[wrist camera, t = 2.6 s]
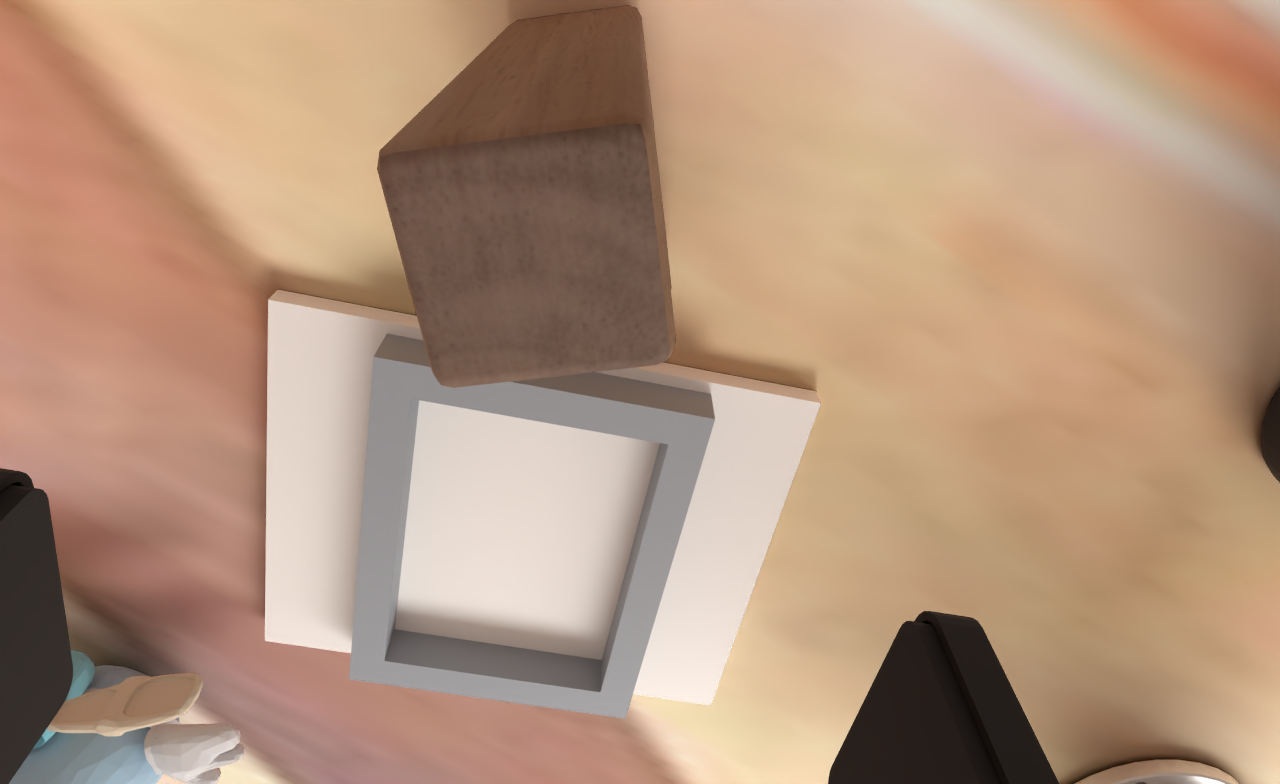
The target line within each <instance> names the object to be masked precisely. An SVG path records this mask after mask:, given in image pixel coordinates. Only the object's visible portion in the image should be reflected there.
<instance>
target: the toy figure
mask: <svg viewBox="0 0 1280 784" xmlns="http://www.w3.org/2000/svg"><path fill="white" fill-rule="evenodd" d="M71 656H72V663H73V679H72V684H71V687H70V691H69V693H68V696H67V698H66V700H65V702H64V704H63V705H62V707H61V708H60V710H59V711H58V713H57V714H56V716H55V717H54V719H53V720H52V722H51V723H50V724H49V726H48V727H47V729H46V730H45V732H44V733H43V735H42V736H41V738H40V739H39V740H38V742H37V743H36V745H35V746H34V748H33V749H32V751H31V752H30V753H29V755H28V756H27V758H26V759H25V761H24V762H23V764H22V765H21V767H20V768H19V769H18V771H17V772H16V774H15V775H14V777H13V778H12V780H11V781H10V783H9V784H156V783H157V782H158V780H159V779H160V777H161V775H162V774H166V775H168V776H170V777H172V778H174V779H176V780H179V781H182V782H185V783H188V784H216V783H217V782H218V780H219V777H220V774H221V771H220V769H219V768H218V767H222V766H225V765H229V764H232V763H234V762H236V761H238V760H240V759H241V758H242V757H243V755H244V750H245V748H244V747H243V745H242V744H238V743H239V742H240V737H241V735H240V732H239V730H238V729H236V728H235V727H234V726H233V725H230V724H225V723H218V724H180V723H179V717H180V716H182V715H184V714H185V713H186V712H187V711H188V710H189V709H190V708H191V707H192V706H193V704H194V703H195V701H196V700H197V699H198V697H199V694H200V692H201V689H202V686H203V678H202V677H201V676H200V675H199V674H196V673H179V674H168V675H161V676H154V677H149V676H148V675H146V674H143V673H141V672H138V671H136V670H134V669H130V668H127V667H123V666H113V665H101V666H95V665H94V663H93V662H92V661H91V659H90V658H89V657H88V656H87V655H86V654H84V653H83V652H80V651H78V650H71Z"/></svg>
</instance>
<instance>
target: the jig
mask: <svg viewBox="0 0 1280 784" xmlns="http://www.w3.org/2000/svg"><path fill="white" fill-rule="evenodd" d="M820 405H821V402H820V399H819V397H818V394H817V392H816V391H812V390H807V389H801V388H796V387H791V386H786V385H780V384H775V383H770V382H764V381H759V380H754V379H748V378H743V377H738V376H733V375H727V374H722V373H717V372H711V371H706V370H701V369H696V368H690V367H685V366H680V365H674V364H669V363H664V362H662V363H660V364H657V365H652V366H643V367H635V368H626V369H617V370H608V371H599V372H590V373H581V374H572V375H563V376H555V377H546V378H537V379H528V380H519V381H510V382H501V383H492V384H483V385H474V386H466V387H457V388H452V387H447V386H442V385H440V383H439V382H438V380H437V379H436V377H435V376H434V374H433V372H432V370H431V367H430V363H429V359H428V356H427V352H426V348H425V344H424V341H423V337H422V333H421V330H420V326H419V322H418V318H417V316H415V315H410V314H404V313H399V312H394V311H389V310H383V309H378V308H373V307H367V306H362V305H357V304H351V303H346V302H341V301H336V300H330V299H325V298H320V297H314V296H309V295H304V294H299V293H293V292H288V291H283V290H277V291H276V292H275V293H274V294H273V295H272V296H271V297H270V298H269V299H268V372H267V475H266V578H265V641H270V642H277V643H284V644H291V645H298V646H305V647H312V648H318V649H325V650H332V651H339V652H346V653H351V661H350V674H349V679H350V680H357V681H364V682H371V683H378V684H385V685H392V686H399V687H406V688H413V689H420V690H427V691H434V692H441V693H448V694H456V695H463V696H470V697H477V698H484V699H491V700H498V701H505V702H512V703H519V704H526V705H533V706H540V707H547V708H554V709H561V710H568V711H575V712H582V713H589V714H596V715H603V716H610V717H618V718H626V715H627V712H628V708H629V705H630V702H631V698H632V695H633V694H635V695H642V696H649V697H656V698H663V699H669V700H676V701H683V702H690V703H697V704H704V705H711V704H712V701H713V698H714V695H715V693H716V690H717V687H718V684H719V682H720V679H721V676H722V673H723V671H724V668H725V665H726V662H727V660H728V657H729V654H730V651H731V649H732V646H733V643H734V640H735V638H736V635H737V632H738V629H739V627H740V624H741V621H742V619H743V616H744V613H745V610H746V608H747V605H748V602H749V599H750V597H751V594H752V591H753V588H754V586H755V583H756V580H757V577H758V575H759V572H760V569H761V566H762V564H763V561H764V558H765V555H766V553H767V550H768V547H769V544H770V542H771V539H772V536H773V533H774V531H775V528H776V525H777V522H778V520H779V517H780V514H781V512H782V509H783V506H784V503H785V501H786V498H787V495H788V492H789V490H790V487H791V484H792V481H793V479H794V476H795V473H796V470H797V468H798V465H799V462H800V459H801V457H802V454H803V451H804V448H805V446H806V443H807V440H808V437H809V435H810V432H811V429H812V426H813V424H814V421H815V418H816V415H817V413H818V410H819V407H820Z"/></svg>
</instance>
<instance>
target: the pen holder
mask: <svg viewBox="0 0 1280 784" xmlns="http://www.w3.org/2000/svg"><path fill="white" fill-rule="evenodd" d="M1261 446H1262V452H1263V457H1264V459H1265V462H1266V464H1267V466H1268V468H1269V469H1270V471H1271V473H1272V474H1273V475H1274V477H1275V478H1276V479H1277V480H1278V481H1279V482H1280V388H1279V389H1278V391H1277V392H1276V394H1275V396H1274V397H1273V399H1272V401H1271V403H1270V405H1269V407H1268V409H1267V412H1266V415H1265V419H1264V423H1263V429H1262V436H1261Z"/></svg>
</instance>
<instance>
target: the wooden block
mask: <svg viewBox="0 0 1280 784" xmlns="http://www.w3.org/2000/svg"><path fill="white" fill-rule="evenodd" d="M377 170H378V174H379V177H380V181H381V185H382V189H383V192H384V196H385V200H386V203H387V207H388V211H389V215H390V218H391V222H392V226H393V229H394V233H395V237H396V240H397V244H398V248H399V252H400V255H401V259H402V263H403V266H404V270H405V274H406V278H407V281H408V285H409V289H410V292H411V296H412V300H413V304H414V307H415V311H416V315H417V318H418V322H419V326H420V330H421V333H422V337H423V341H424V344H425V348H426V352H427V356H428V359H429V363H430V367H431V370H432V372H433V374H434V376H435V377H436V379H437V380H438V382H439V383H440V385H442V386H447V387H452V388H457V387H466V386H474V385H483V384H492V383H501V382H510V381H519V380H528V379H537V378H546V377H555V376H563V375H572V374H581V373H590V372H599V371H608V370H617V369H626V368H635V367H643V366H652V365H657V364H660V363H662V362H664V361H667V360H669V358H670V357H671V355H672V352H673V349H674V346H675V343H676V337H675V327H674V318H673V308H672V298H671V278H670V269H669V260H668V250H667V241H666V232H665V223H664V214H663V205H662V196H661V188H660V179H659V170H658V161H657V152H656V143H655V134H654V125H653V116H652V107H651V98H650V89H649V80H648V71H647V62H646V53H645V44H644V35H643V26H642V18H641V15H640V13H639V11H638V9H637V8H635V7H631V6H628V5H627V6H620V7H612V8H605V9H597V10H590V11H582V12H575V13H567V14H560V15H552V16H545V17H537V18H530V19H523V20H517V21H516V22H514V23H512V24H511V25H509V26H508V27H507V28H506V29H505V30H504V31H503V32H502V33H501V34H500V35H499V36H498V37H497V38H496V39H495V40H494V41H493V42H492V43H491V44H490V45H489V46H487V47H486V48H485V49H484V50H483V51H482V52H481V53H480V54H479V55H478V56H477V57H476V58H475V59H474V60H473V61H472V62H471V63H470V64H469V65H468V66H467V67H466V68H465V69H464V70H463V71H462V72H461V73H460V74H459V75H458V76H457V77H456V78H455V79H453V80H452V81H451V82H450V83H449V84H448V85H447V86H446V87H445V88H444V89H443V90H442V91H441V92H440V93H439V94H438V95H437V96H436V97H435V98H434V99H433V100H432V101H431V102H430V103H429V104H428V105H427V106H425V107H424V108H423V109H422V110H421V111H420V112H419V113H418V114H417V115H416V116H415V117H414V118H413V119H412V120H411V121H410V122H409V123H408V124H407V125H406V126H405V127H404V128H403V129H402V130H401V131H400V132H398V133H397V134H396V135H395V136H394V137H393V138H392V139H391V140H390V141H389V142H388V143H387V144H386V145H385V146H384V147H383V148H382V149H381V150H380V152H379V160H378V167H377Z"/></svg>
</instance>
